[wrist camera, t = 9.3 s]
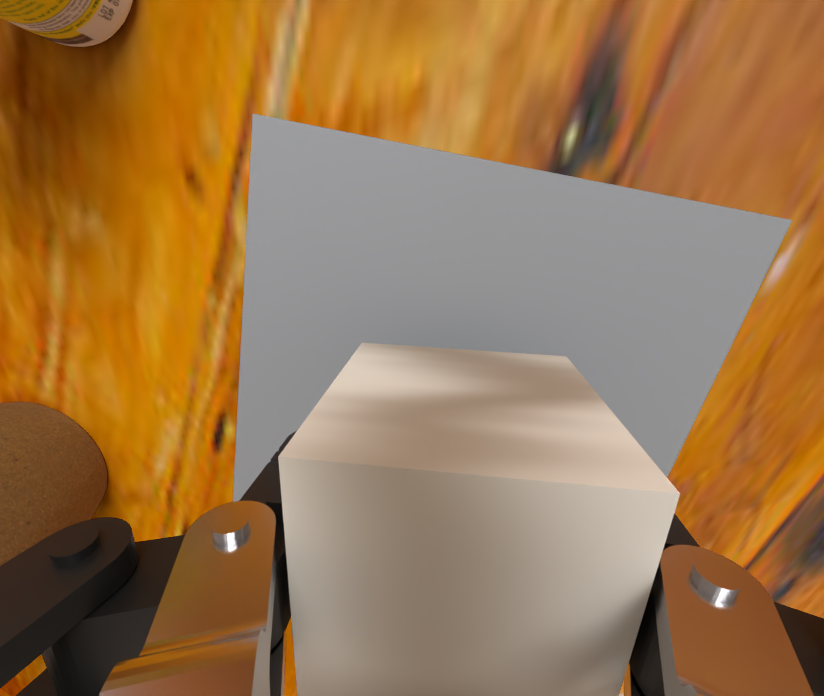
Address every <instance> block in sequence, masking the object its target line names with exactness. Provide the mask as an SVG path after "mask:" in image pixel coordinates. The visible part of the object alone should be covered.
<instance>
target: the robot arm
mask: <svg viewBox="0 0 824 696" xmlns="http://www.w3.org/2000/svg"><path fill="white" fill-rule="evenodd" d="M296 432H297V431H295V432H293V433H292V434H290V435H289V436H288V437H287V438H286V440H285V441H284V442H283V444H282V445H281V446H280V448H279V451H277V452H276V453H275V454H274V456H273V457H272V458H271V461H270V462H268V463H267V465H266V466H265V467H264V469H263V470H262V471H261V473H260V474H259V475H258V477H257V478H256V479H255V481H254V482H253V483H252V485H251V486H250V487H249V489H248V490H247V491H246V492H245V494H244V495H243V496H242V498H241V499H240V500H239V501H236V502H230V503H227V504H223V505H221V506H218V507H216V508H214V509H212V510H210V511H208V512H207V513H205V514H203V515H202V516H201V517H199V518H198V519H197V520H196V521H195V522H194V523H193V524H192V525H191V526H190V528H189V529H188V530H187V532H186V534H185V535H181V536H175V537H168V538H161V539H154V540H147V541H141V542H135V541H134V537H133V533H132V529H131V527H130V525H129V524H128V523H127V522H126V521H124V520H122V519H118V518H111V517H105V518H96V519H90V520H86V521H82V522H79V523H76V524H73V525H71V526H68V527H66V528H63V529H61V530H59V531H57V532H55V533H53V534H52V535H50V536H48V537H46V538H45V539H43V540H41V541H40V542H38V543H37V544H35V545H33V546H32V547H30V548H28V549H27V550H25V551H24V552H22V553H20V554H19V555H17V556H15V557H14V558H12V559H11V560H9V561H7V562H6V563H4V564H3V565H1V566H0V688H1V687H2V686H4V685H5V684H6V683H7V682H8V681H10V680H11V679H12V678H13V677H14V676H15V675H17V674H18V673H19V672H20V671H21V670H23V669H24V668H25V667H26V666H27V665H29V664H30V663H31V662H32V661H33V660H35V659H36V658H37V657H38V656H39V655H41V654H42V656H43V659H44V661H45V664H46V667H47V669H46V670H45V671H43V672H42V673H41V674H40V675H39V676H38V677H37V678H35V679H34V680H33V681H32V682H31V683H30V684H29V685H27V686H26V687H25V688H24V689H23V690H22V691H21V692H19V693H18V694H17V695H16V696H284V685H285V661H286V627H287V625H288V622H289V620H290V617H291V609H290V596H289V584H288V572H287V559H286V547H285V535H284V522H283V510H282V498H281V485H280V473H279V461H278V456H279V455H280V454H281V452H282V451H283V449H284V448H285V447H286V445H287V444H288V443H289V441H290V440H291V439H292V437H293V436H294V434H295V433H296ZM624 696H824V619H823V618H820V617H817V616H814V615H811V614H808V613H805V612H802V611H799V610H796V609H793V608H790V607H787V606H785V605H782V604H779V603H776V602H773V600H772V598H771V596H770V595H769V593H768V592H767V590H766V589H765V588H764V587H763V585H762V584H761V583H760V582H759V581H758V580H757V579H756V578H755V577H753V576H752V575H751V574H750V573H749V572H748V571H746V570H745V569H743V568H742V567H741V566H739V565H738V564H736V563H735V562H733V561H731V560H729V559H728V558H726V557H724V556H722V555H720V554H717V553H715V552H713V551H710V550H707V549H704V548H701V547H700V546H699V545H698V544H697V542H696V541H695V540H694V539H693V537H692V536H691V535H690V533H689V532H688V531H687V529H686V528H685V527H684V525H683V524H682V523H681V521H680V520H679V519H678V517H677V516H676V515H675V513H674V516H673V519H672V522H671V525H670V529H669V532H668V535H667V539H666V542H665V545H664V548H663V552H662V555H661V558H660V562H659V565H658V568H657V571H656V575H655V578H654V581H653V585H652V588H651V591H650V594H649V598H648V601H647V604H646V608H645V611H644V614H643V617H642V621H641V624H640V627H639V631H638V634H637V637H636V640H635V644H634V647H633V650H632V653H631V657H630V660H629V663H628V667H627V670H626V673H625V676H624Z"/></svg>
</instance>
